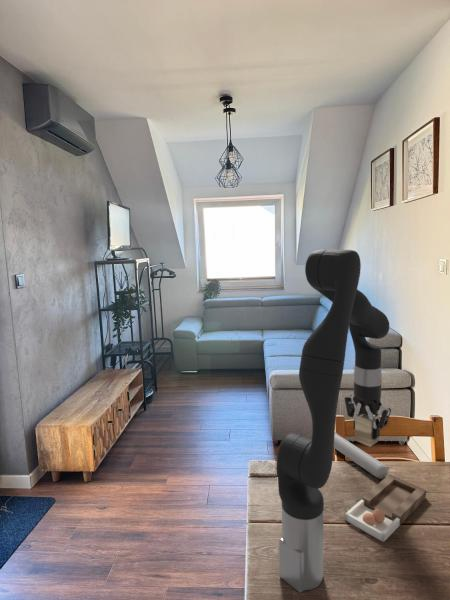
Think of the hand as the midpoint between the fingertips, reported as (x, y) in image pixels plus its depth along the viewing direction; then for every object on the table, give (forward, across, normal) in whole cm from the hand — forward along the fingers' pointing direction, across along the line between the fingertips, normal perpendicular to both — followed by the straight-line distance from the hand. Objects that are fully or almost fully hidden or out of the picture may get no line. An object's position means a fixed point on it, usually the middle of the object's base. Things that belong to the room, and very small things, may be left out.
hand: (366, 434), depth 118 cm
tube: (+18, -10, +11) cm, 24 cm away
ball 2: (+17, +9, -11) cm, 22 cm away
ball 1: (+17, +9, -14) cm, 24 cm away
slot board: (+18, +9, +1) cm, 20 cm away
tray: (+18, +9, -11) cm, 23 cm away
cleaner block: (+2, 0, 0) cm, 2 cm away
